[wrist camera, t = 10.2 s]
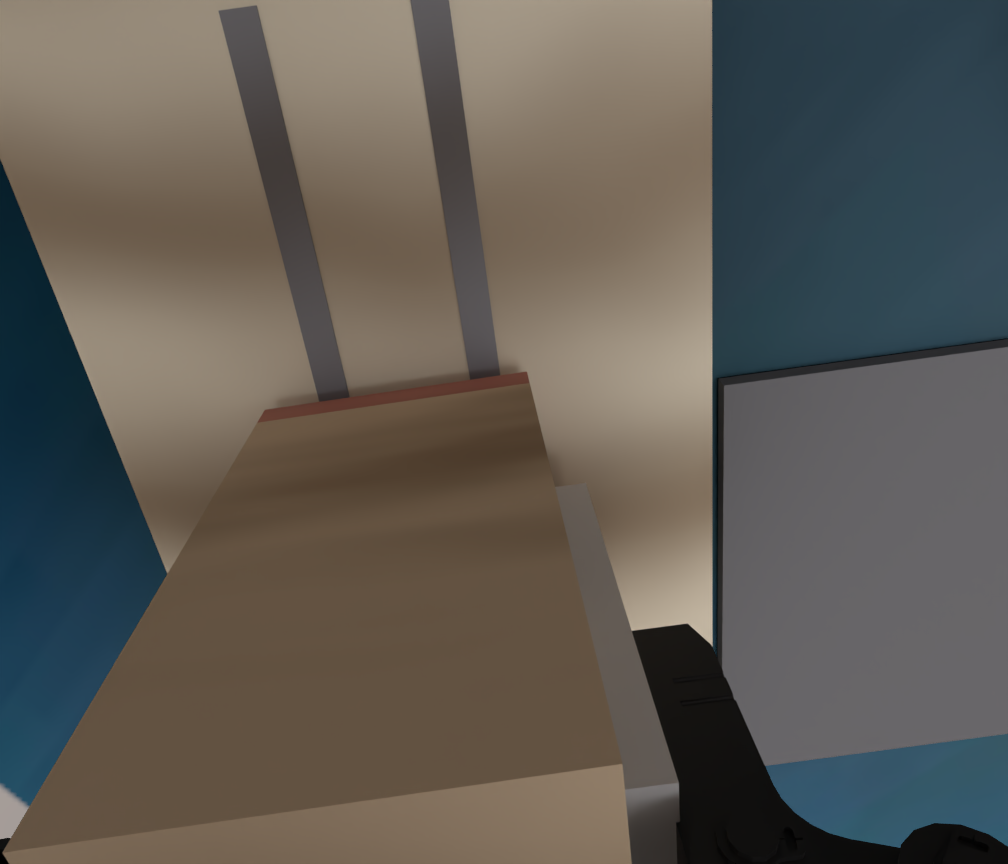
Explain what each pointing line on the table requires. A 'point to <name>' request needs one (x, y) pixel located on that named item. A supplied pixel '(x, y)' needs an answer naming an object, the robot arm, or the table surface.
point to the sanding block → (356, 660)
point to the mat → (866, 551)
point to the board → (385, 233)
